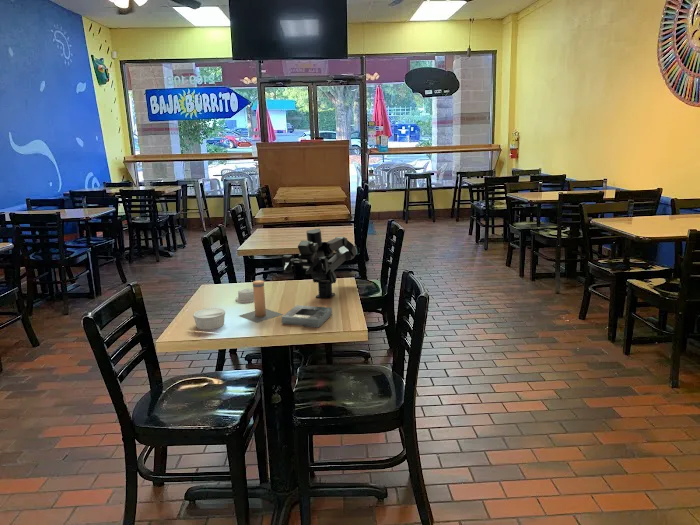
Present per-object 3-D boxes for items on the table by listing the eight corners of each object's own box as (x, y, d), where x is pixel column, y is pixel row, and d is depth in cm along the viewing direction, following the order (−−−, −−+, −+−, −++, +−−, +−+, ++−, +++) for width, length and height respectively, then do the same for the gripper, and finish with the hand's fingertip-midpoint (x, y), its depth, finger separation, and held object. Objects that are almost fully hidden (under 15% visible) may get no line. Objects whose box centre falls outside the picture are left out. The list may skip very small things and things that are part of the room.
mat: (264, 309, 209) (264, 308, 209) (283, 315, 201) (283, 314, 201) (238, 317, 201) (238, 315, 201) (257, 323, 193) (257, 322, 193)
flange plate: (297, 312, 204) (296, 304, 203) (331, 315, 200) (331, 307, 199) (282, 324, 191) (281, 316, 190) (318, 327, 187) (318, 319, 186)
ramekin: (209, 334, 185) (208, 319, 183) (187, 328, 191) (186, 314, 189) (232, 324, 194) (231, 310, 192) (211, 319, 200) (210, 306, 198)
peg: (258, 313, 204) (255, 280, 201) (268, 313, 202) (265, 280, 199) (253, 316, 200) (250, 282, 197) (263, 317, 198) (260, 283, 196)
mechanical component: (253, 305, 216) (264, 297, 226) (252, 294, 215) (263, 287, 225) (231, 303, 219) (242, 296, 228) (230, 293, 218) (241, 286, 227)
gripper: (289, 237, 212) (270, 250, 199) (332, 239, 205) (315, 252, 192) (293, 263, 216) (274, 278, 202) (335, 266, 209) (318, 281, 195)
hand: (294, 271), depth 198 cm, fingers open, 9 cm apart
